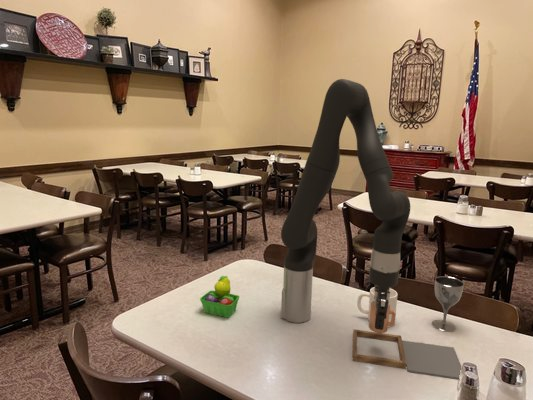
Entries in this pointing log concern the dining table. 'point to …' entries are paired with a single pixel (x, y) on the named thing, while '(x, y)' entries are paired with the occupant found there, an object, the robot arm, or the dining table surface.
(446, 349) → the rubber mat
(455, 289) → the wine glass
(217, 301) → the fruit basket
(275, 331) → the dining table surface
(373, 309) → the orange mug
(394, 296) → the cup
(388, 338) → the walnut frame
